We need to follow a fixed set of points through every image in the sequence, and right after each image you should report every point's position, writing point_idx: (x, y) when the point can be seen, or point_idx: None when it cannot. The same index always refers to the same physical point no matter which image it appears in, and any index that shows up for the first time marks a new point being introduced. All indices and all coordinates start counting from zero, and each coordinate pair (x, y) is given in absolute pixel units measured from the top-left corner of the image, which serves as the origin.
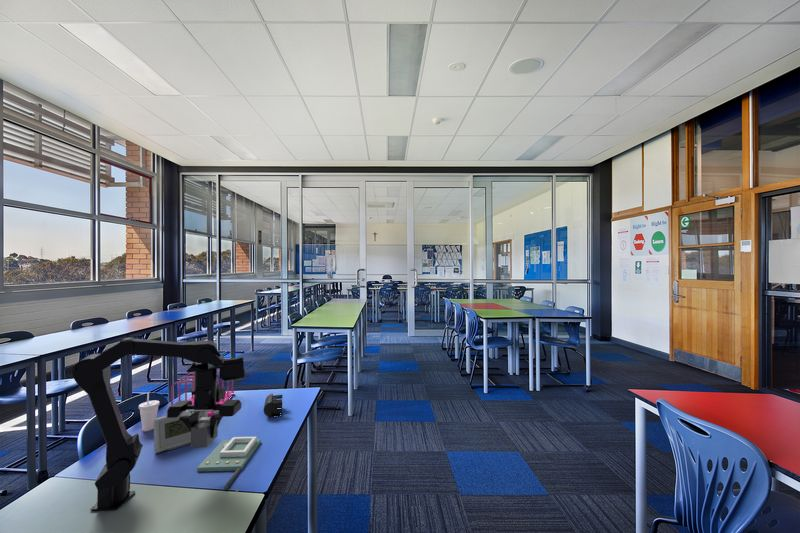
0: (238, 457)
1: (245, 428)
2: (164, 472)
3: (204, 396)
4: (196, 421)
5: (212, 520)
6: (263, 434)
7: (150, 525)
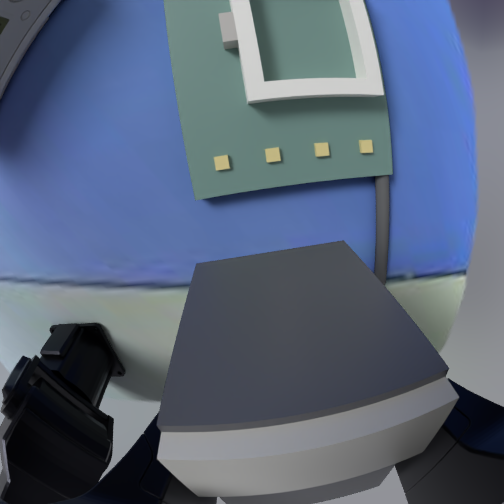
0: (347, 103)
1: None
2: (77, 221)
3: None
4: (184, 491)
5: None
6: None
7: None
